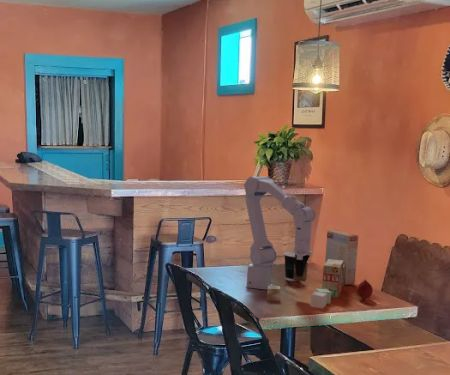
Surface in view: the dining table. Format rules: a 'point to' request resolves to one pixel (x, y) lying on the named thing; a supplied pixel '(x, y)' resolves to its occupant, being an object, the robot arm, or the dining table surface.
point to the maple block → (273, 293)
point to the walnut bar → (302, 276)
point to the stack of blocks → (333, 276)
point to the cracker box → (343, 252)
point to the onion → (364, 290)
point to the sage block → (326, 293)
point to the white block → (318, 299)
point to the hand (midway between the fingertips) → (300, 274)
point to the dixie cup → (289, 266)
